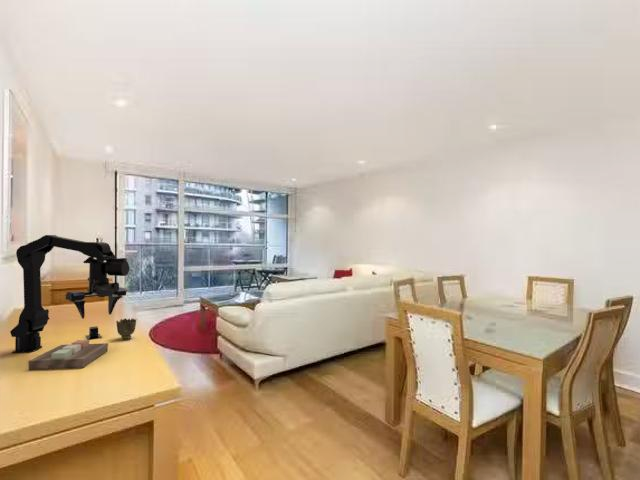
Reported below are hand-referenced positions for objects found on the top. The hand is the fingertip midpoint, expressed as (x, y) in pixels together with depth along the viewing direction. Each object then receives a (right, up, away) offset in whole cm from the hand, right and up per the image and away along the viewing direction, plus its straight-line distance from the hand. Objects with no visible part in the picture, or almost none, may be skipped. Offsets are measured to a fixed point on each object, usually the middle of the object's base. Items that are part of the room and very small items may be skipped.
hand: (96, 316), depth 128 cm
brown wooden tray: (-2, -13, -10) cm, 17 cm away
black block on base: (-14, -14, +18) cm, 26 cm away
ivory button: (-2, -11, -10) cm, 15 cm away
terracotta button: (-3, -11, -5) cm, 13 cm away
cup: (+2, -13, +16) cm, 21 cm away
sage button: (-1, -11, -16) cm, 19 cm away
